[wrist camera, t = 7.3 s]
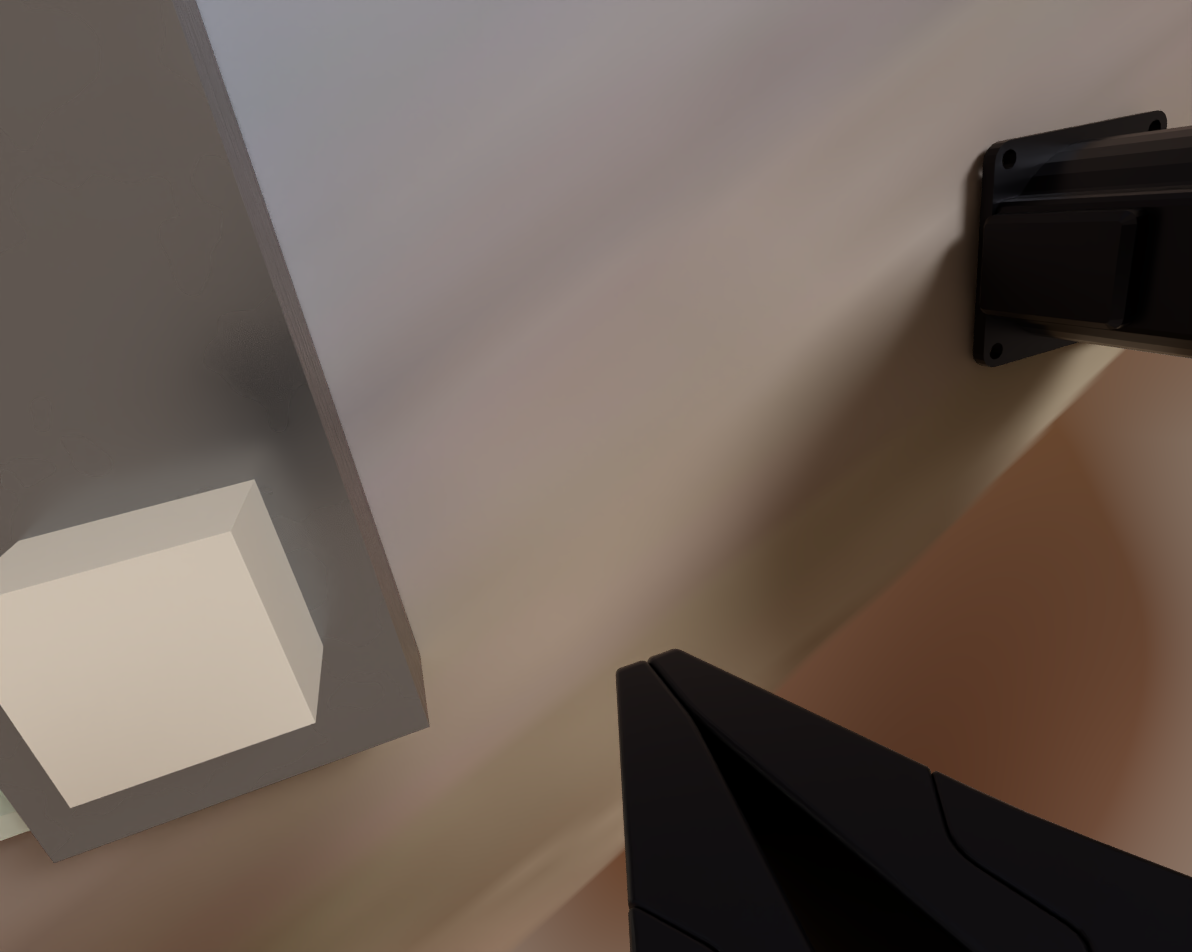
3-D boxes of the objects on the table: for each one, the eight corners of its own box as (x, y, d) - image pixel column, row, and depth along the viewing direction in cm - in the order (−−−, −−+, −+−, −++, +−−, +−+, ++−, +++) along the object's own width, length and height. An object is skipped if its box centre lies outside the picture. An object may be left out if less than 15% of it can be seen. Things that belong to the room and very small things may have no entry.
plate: (135, -176, 11) (64, -303, 9) (420, 655, 18) (429, 726, 16) (-466, -149, 10) (-788, -298, 7) (104, 761, 17) (54, 863, 14)
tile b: (254, 479, 13) (230, 530, 10) (323, 646, 14) (315, 722, 12) (18, 540, 12) (-63, 612, 10) (119, 712, 13) (70, 808, 11)
